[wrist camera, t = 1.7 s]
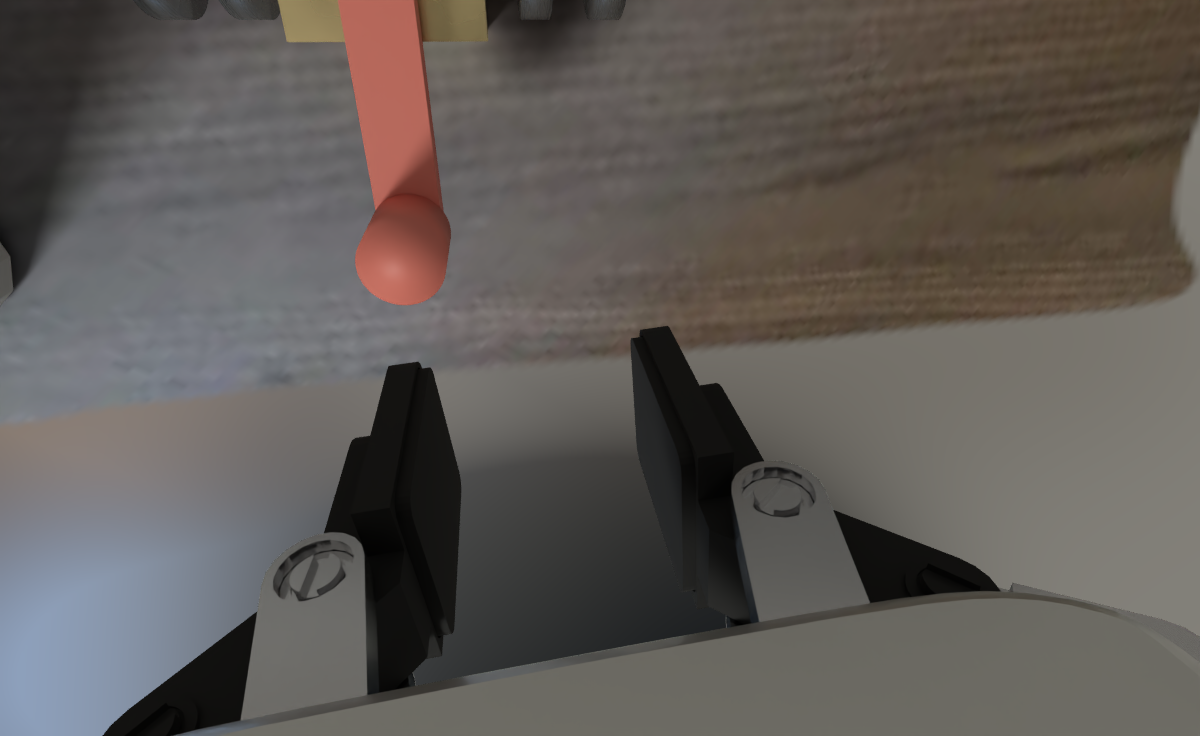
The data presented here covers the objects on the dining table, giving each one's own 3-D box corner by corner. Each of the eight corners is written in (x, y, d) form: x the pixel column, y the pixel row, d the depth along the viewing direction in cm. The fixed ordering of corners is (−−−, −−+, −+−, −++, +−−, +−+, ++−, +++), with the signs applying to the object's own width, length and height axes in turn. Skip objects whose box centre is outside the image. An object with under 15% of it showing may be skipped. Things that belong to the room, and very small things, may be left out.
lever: (300, -149, 20) (249, -185, 15) (419, -146, 20) (401, -179, 16) (376, 255, 27) (355, 307, 22) (463, 251, 27) (459, 302, 23)
